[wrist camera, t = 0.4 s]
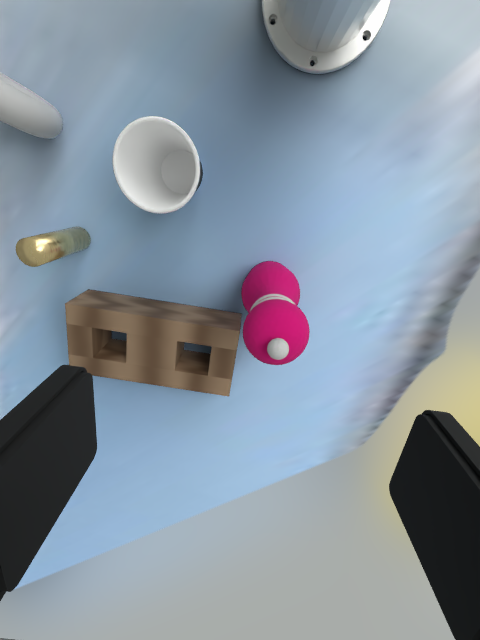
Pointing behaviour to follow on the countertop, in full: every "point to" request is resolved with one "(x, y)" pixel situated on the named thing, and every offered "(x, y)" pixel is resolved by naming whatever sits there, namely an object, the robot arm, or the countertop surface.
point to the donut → (28, 110)
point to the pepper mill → (273, 314)
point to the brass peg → (52, 246)
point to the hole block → (152, 341)
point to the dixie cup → (156, 165)
